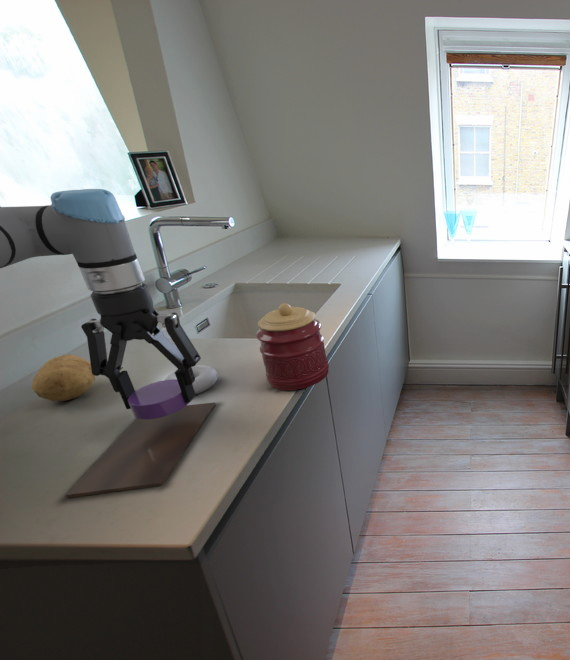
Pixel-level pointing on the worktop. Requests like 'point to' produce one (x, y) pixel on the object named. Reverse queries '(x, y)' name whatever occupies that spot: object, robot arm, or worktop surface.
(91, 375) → the potato
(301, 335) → the kitchen canister
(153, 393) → the purple hockey puck
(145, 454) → the placemat
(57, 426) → the worktop surface
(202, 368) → the donut
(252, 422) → the worktop surface
